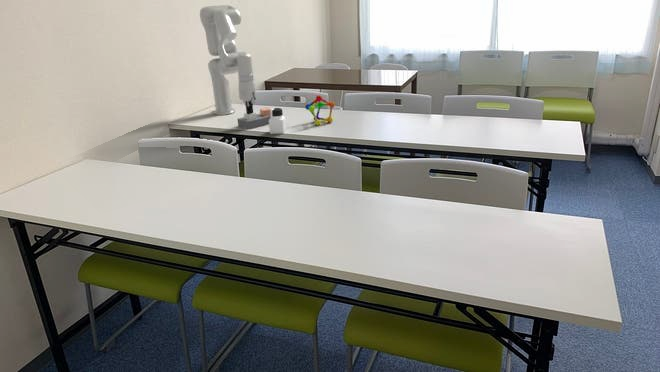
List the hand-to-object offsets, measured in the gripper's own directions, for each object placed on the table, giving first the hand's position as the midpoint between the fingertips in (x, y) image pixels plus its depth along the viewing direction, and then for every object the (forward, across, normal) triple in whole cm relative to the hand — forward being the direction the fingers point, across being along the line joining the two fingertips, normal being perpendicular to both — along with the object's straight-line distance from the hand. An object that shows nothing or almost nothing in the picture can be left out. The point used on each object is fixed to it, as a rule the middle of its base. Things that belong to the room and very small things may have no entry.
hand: (250, 113), depth 258 cm
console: (+7, 0, +5) cm, 8 cm away
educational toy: (+7, +23, +28) cm, 37 cm away
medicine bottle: (+7, +21, +3) cm, 22 cm away
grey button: (+4, 0, 0) cm, 4 cm away
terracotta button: (+4, 0, +10) cm, 11 cm away
